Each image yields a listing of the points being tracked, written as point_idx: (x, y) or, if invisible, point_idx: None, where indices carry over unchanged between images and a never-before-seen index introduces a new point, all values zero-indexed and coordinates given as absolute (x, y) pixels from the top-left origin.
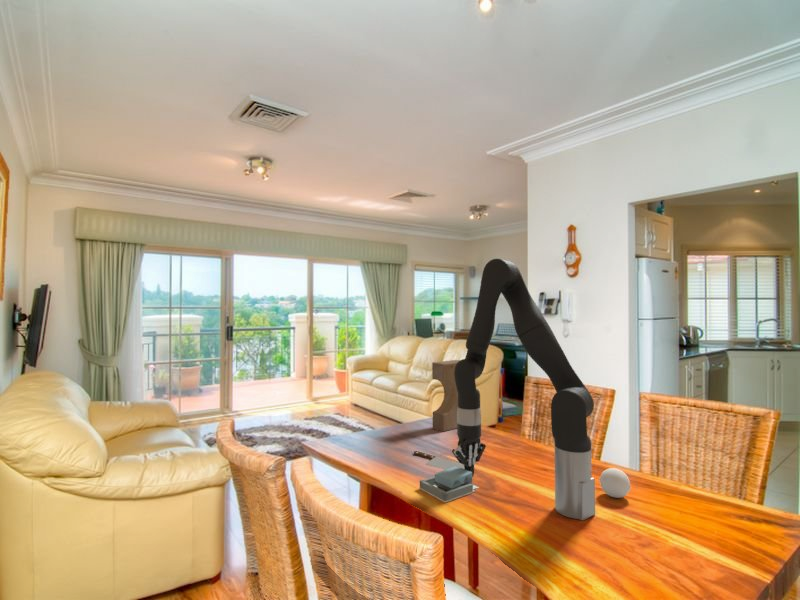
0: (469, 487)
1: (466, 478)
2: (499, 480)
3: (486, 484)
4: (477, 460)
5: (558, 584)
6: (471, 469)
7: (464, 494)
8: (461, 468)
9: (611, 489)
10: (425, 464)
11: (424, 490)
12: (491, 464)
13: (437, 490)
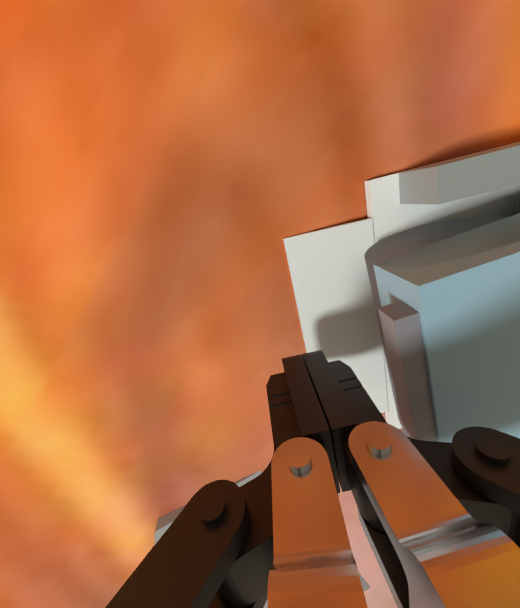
0: (471, 156)
1: (499, 237)
2: (51, 301)
3: (194, 274)
4: (226, 500)
5: None
6: (323, 395)
7: (495, 148)
8: (424, 433)
9: None
10: (369, 586)
11: None
12: (7, 522)
13: None
